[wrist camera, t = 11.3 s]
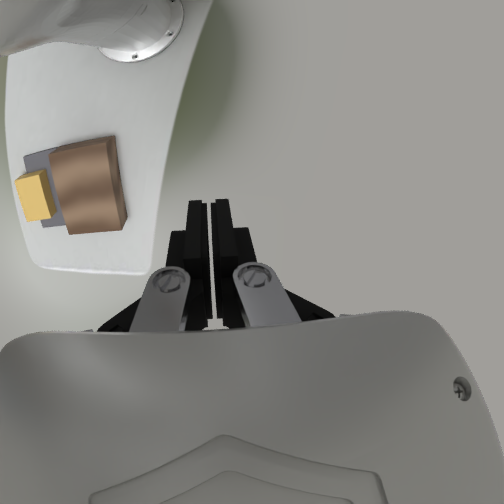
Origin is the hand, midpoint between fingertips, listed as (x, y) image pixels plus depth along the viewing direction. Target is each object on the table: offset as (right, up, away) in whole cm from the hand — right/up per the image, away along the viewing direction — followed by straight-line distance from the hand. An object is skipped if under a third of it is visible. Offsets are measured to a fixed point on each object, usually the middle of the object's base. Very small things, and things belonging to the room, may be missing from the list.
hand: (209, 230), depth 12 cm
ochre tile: (-34, +8, +21) cm, 41 cm away
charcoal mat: (-33, +10, +24) cm, 41 cm away
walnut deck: (-23, +10, +25) cm, 36 cm away
